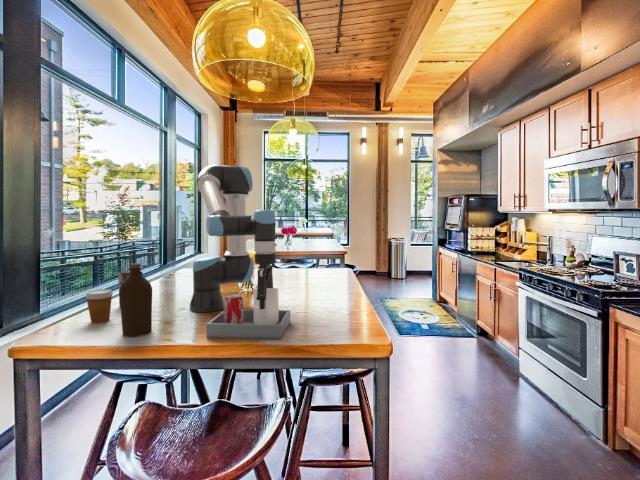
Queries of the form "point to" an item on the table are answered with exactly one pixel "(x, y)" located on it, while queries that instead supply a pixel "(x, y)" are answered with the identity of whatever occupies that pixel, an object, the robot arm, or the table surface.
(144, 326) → the brown growler jug
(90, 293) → the disposable coffee cup
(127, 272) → the coffee box
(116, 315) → the table surface
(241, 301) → the soda can
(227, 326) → the tote
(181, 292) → the table surface
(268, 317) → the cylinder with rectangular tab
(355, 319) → the table surface
